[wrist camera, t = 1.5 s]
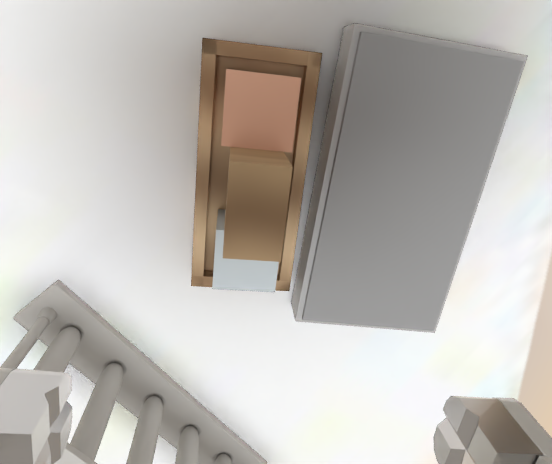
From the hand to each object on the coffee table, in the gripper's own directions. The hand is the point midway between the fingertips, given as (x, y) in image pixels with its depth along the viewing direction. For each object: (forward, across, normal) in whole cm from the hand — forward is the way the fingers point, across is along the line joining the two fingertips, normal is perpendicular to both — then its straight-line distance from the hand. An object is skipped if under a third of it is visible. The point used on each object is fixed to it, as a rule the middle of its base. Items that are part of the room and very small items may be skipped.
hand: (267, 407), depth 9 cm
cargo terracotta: (+21, 0, -5) cm, 21 cm away
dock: (+22, -10, 0) cm, 24 cm away
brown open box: (+22, 0, 0) cm, 22 cm away
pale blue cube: (+21, -1, +4) cm, 21 cm away
